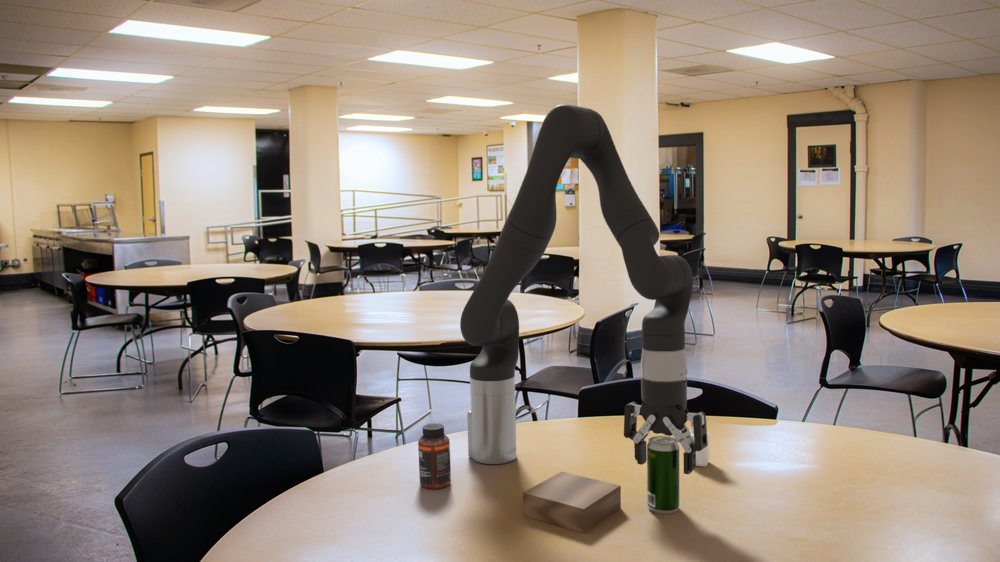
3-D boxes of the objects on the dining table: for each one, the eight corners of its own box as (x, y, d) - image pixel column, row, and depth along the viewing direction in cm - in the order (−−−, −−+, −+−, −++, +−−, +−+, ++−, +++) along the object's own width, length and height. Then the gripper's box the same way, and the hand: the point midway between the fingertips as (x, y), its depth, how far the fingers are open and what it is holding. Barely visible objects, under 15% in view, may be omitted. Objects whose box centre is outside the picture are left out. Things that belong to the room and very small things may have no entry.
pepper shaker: (686, 465, 149) (686, 419, 148) (689, 459, 153) (689, 413, 152) (707, 468, 147) (707, 420, 146) (709, 461, 151) (709, 415, 150)
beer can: (663, 517, 125) (663, 447, 124) (640, 507, 129) (640, 439, 128) (686, 509, 128) (686, 441, 127) (662, 499, 132) (662, 433, 131)
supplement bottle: (456, 481, 144) (455, 423, 142) (441, 492, 138) (439, 432, 137) (429, 476, 146) (427, 420, 145) (413, 487, 141) (411, 428, 140)
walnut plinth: (523, 515, 127) (522, 492, 127) (562, 492, 137) (561, 471, 136) (584, 533, 120) (583, 509, 119) (620, 508, 129) (620, 485, 129)
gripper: (615, 374, 128) (616, 466, 129) (694, 384, 119) (695, 483, 121) (636, 365, 134) (637, 454, 135) (713, 374, 125) (713, 469, 126)
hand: (664, 468), depth 128 cm, fingers open, 8 cm apart
